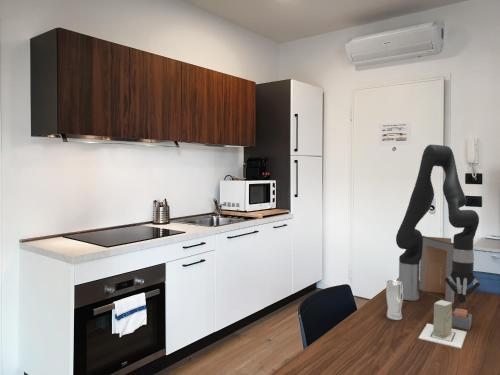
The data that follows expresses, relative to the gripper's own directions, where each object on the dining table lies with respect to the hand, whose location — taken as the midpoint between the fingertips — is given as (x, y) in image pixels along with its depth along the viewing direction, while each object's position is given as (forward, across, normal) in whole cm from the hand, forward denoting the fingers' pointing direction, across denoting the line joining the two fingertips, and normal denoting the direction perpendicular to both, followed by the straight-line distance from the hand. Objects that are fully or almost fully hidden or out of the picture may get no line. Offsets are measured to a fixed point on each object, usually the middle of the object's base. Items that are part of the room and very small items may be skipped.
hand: (461, 302), depth 159 cm
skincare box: (+9, -5, -15) cm, 18 cm away
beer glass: (+9, -24, -7) cm, 27 cm away
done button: (+6, 0, 0) cm, 6 cm away
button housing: (+9, 0, 0) cm, 9 cm away
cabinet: (+9, -12, +35) cm, 38 cm away
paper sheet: (+9, -4, -15) cm, 18 cm away
